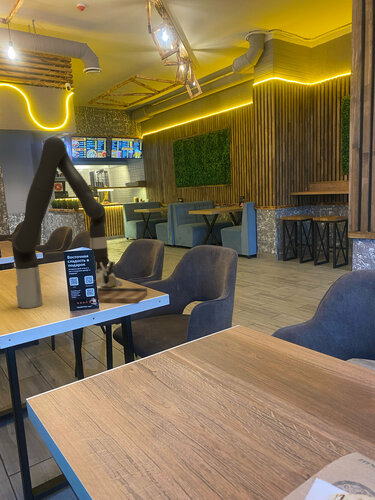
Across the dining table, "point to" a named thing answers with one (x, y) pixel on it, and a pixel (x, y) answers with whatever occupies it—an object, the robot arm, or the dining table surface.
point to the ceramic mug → (113, 281)
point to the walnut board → (121, 295)
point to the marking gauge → (100, 278)
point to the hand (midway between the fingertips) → (102, 283)
